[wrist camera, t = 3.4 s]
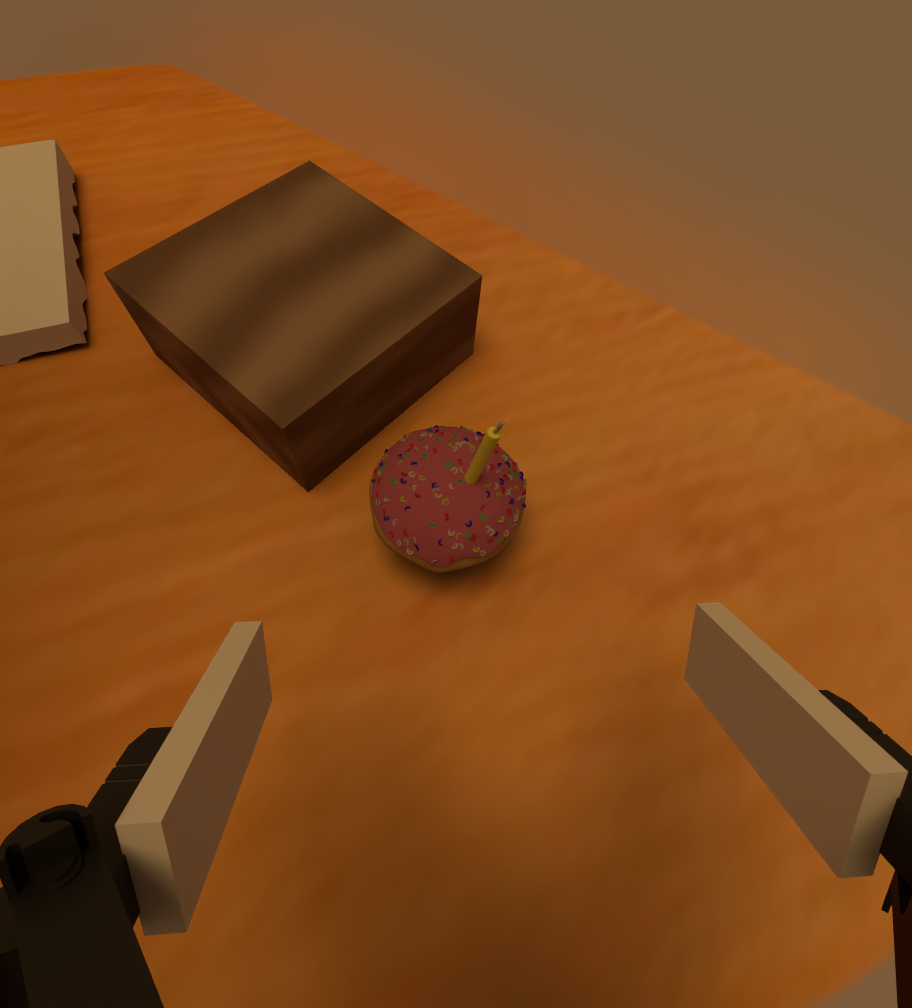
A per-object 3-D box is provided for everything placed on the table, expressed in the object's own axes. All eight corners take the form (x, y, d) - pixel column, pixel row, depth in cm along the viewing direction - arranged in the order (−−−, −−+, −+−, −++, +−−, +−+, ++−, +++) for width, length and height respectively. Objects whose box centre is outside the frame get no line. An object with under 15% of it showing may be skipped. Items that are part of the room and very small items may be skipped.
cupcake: (517, 480, 35) (559, 352, 24) (505, 605, 31) (548, 519, 21) (389, 461, 35) (374, 326, 25) (361, 583, 31) (329, 486, 21)
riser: (156, 354, 38) (103, 272, 32) (325, 247, 44) (309, 160, 38) (308, 491, 34) (282, 429, 28) (472, 353, 40) (482, 275, 33)
